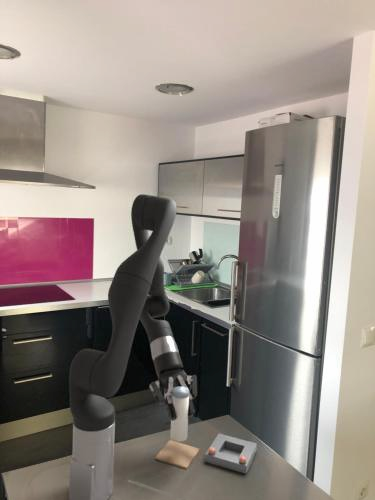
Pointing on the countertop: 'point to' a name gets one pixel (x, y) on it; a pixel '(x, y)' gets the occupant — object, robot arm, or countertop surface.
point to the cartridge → (180, 413)
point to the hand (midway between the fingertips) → (183, 417)
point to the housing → (231, 453)
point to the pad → (177, 454)
